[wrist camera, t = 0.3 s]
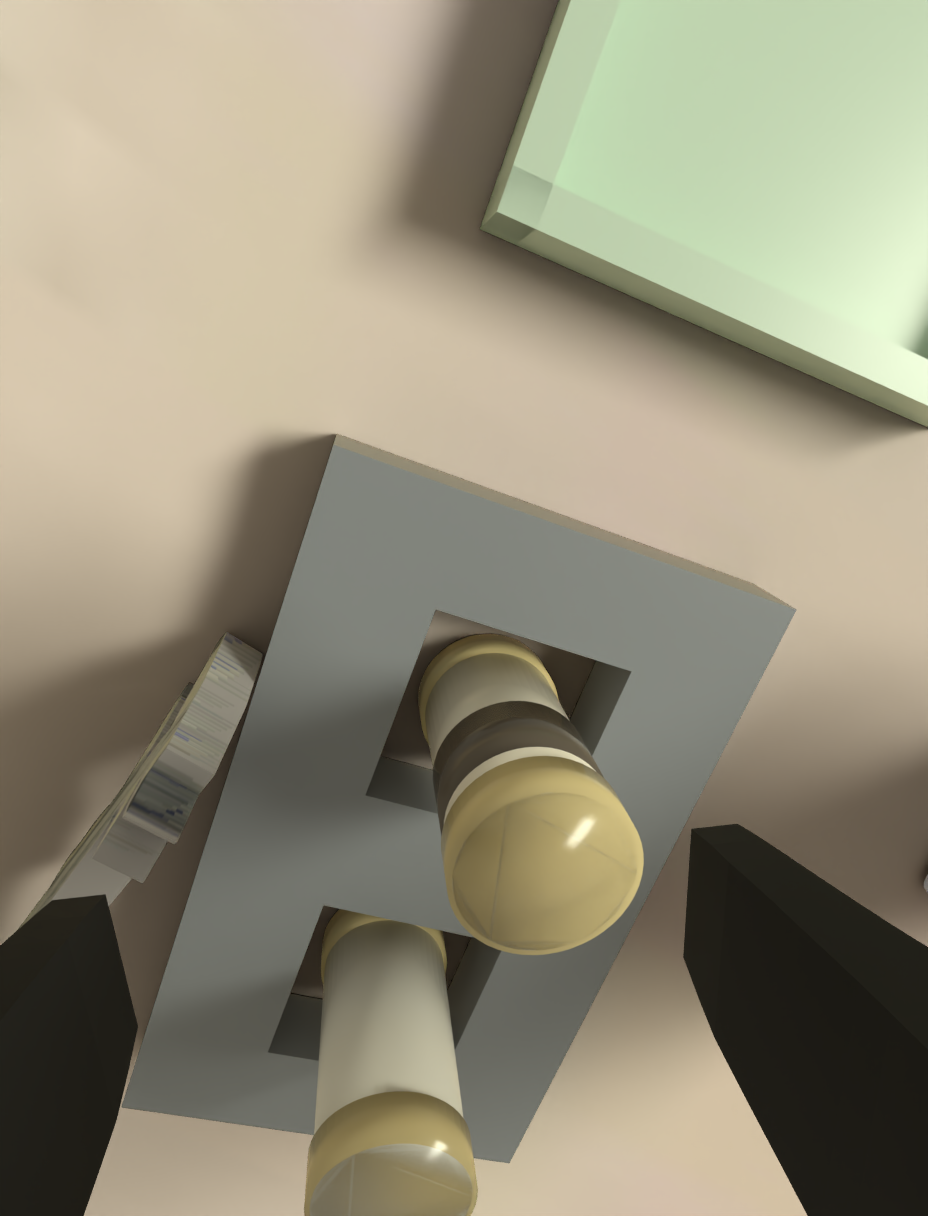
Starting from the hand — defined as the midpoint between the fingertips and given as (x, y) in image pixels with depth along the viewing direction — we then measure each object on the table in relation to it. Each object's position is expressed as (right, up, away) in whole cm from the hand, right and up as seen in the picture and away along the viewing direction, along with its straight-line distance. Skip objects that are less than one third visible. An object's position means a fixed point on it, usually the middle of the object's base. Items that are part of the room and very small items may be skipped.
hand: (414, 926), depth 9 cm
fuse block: (0, -2, +11) cm, 11 cm away
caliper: (-11, -4, +11) cm, 16 cm away
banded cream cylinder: (+1, +2, +10) cm, 10 cm away
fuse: (-2, -6, +12) cm, 13 cm away
